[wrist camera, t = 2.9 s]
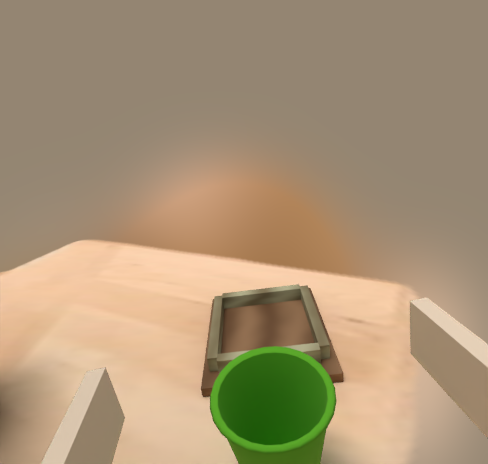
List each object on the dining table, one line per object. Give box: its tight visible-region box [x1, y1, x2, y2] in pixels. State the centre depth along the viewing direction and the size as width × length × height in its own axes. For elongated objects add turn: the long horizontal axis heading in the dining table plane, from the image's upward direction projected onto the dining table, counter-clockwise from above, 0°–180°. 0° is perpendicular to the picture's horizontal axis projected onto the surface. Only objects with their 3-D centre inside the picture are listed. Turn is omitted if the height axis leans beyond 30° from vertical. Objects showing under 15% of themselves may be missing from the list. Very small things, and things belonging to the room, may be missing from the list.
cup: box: [210, 346, 336, 464], centre depth 26 cm, size 9×9×11 cm
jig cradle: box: [201, 285, 343, 397], centre depth 45 cm, size 16×18×3 cm
